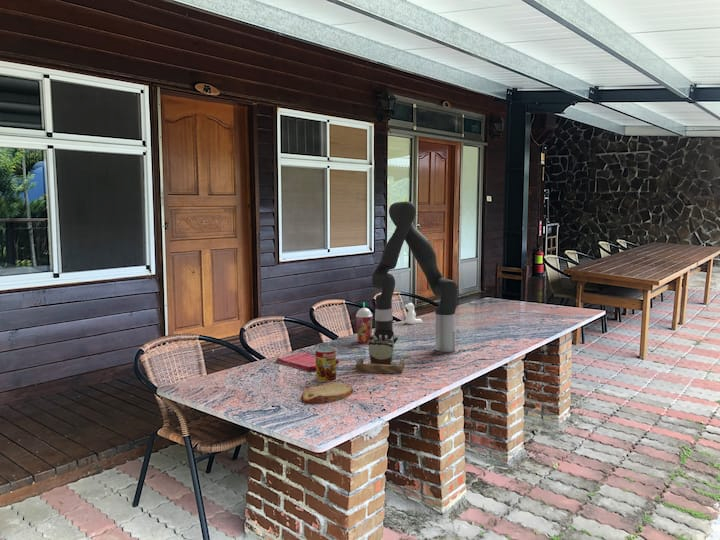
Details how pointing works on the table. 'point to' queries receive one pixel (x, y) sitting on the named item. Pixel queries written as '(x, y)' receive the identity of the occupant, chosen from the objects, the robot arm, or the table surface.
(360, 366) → the walnut dock
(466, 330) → the table surface
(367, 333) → the smoothie
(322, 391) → the bread slice
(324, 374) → the canned food
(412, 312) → the white creature statuette
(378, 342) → the food container
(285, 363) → the dish towel
